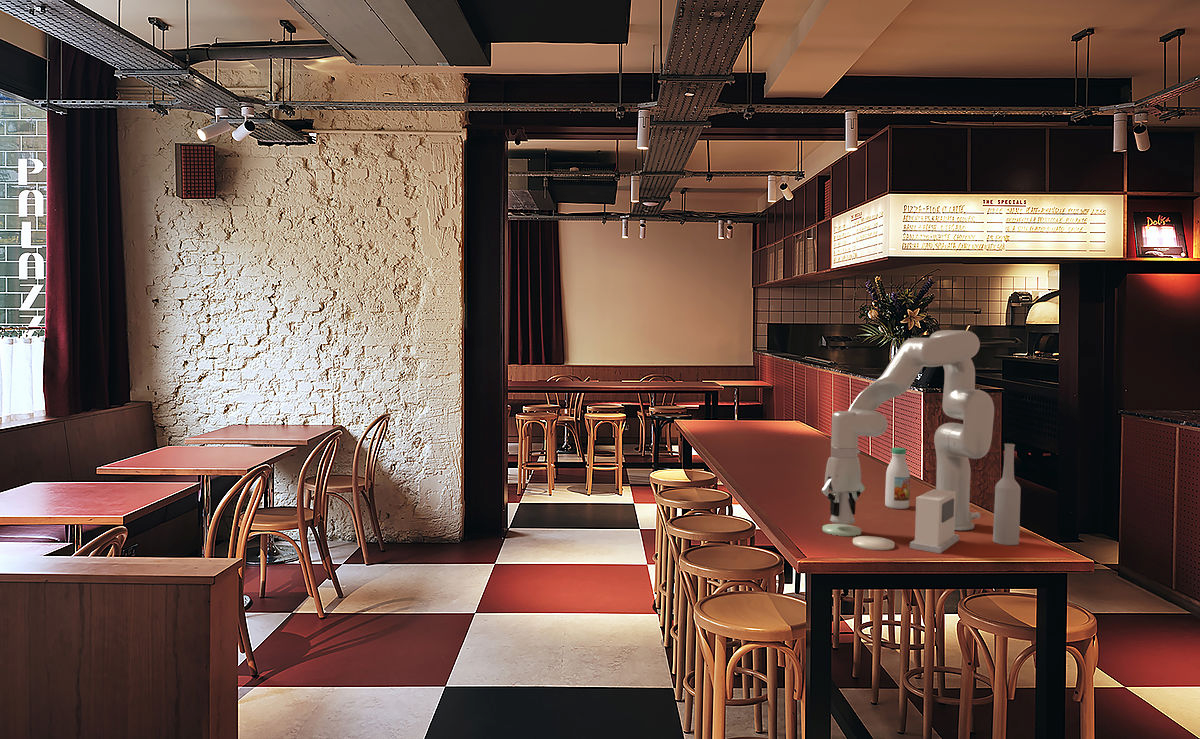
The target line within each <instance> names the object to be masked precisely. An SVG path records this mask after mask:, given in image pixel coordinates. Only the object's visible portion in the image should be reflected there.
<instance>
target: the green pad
mask: <svg viewBox="0 0 1200 739" xmlns="http://www.w3.org/2000/svg"><path fill="white" fill-rule="evenodd" d="M821 529H822V532H823V533H825V534H829V535H831V534H832V536H836V535H838V536H839V537H857V536H856V535H858V536H860V535H862V528H860V527H858V526H856V525H853V524H840V523H828V524H824V525H823V526H822V528H821Z"/></svg>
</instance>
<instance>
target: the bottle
mask: <svg viewBox="0 0 1200 739" xmlns="http://www.w3.org/2000/svg"><path fill="white" fill-rule="evenodd" d="M1003 445H1004V453H1003V454H1004V457H1003V467H1002V477H1001V479H999V480H998V481H997V482H996V484H995V486H994V509H993V510H994V511H993V525H992V526H993V527H992V528H993V529H992V532H993V533H992V542H994V543H996V544H998V545H1002V546H1018V545H1020V530H1021V529H1020V526H1021V524H1020V523H1021V522H1020V520H1021V492H1022V491H1021V489H1022V488H1021V486H1020V484H1019V483H1018V482H1017V481H1016V479H1015V464H1014V463H1015V447H1016V444H1014V443H1003Z"/></svg>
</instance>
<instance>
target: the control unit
mask: <svg viewBox="0 0 1200 739" xmlns="http://www.w3.org/2000/svg"><path fill="white" fill-rule="evenodd" d="M955 501H956V492H954V491H946V490H939V489H936V488H933V489H931V490H928V491H925V493H923V494H921V495H919V496H916V497H915V522H914V523H915V525H914V526H915V527H914V530H915V531H914V539H913V540H912V541H910V542H909V549H913V550H918V551H924V552H929V553H935V554H942V553H943V552H945V551H946V550H947V549H949V548H950V547H951V546H953V545H955V544H956V543H957V542H959V540H960V534H955V531H956V530H955Z"/></svg>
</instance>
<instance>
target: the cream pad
mask: <svg viewBox="0 0 1200 739" xmlns="http://www.w3.org/2000/svg"><path fill="white" fill-rule="evenodd" d="M852 544H853V545H854V546H855V547H857V546H858V548H862V549H864V550H871V551H872V550H873V551H887V550H888V551H889V550H890V551H891V550H892V549H894V548H895V542H894V541H893V540H892V539H889V538H885V537H880V536H871V535H870V536H869V535H861V536H860V535H858V536H854V537H853V538H852Z"/></svg>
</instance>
